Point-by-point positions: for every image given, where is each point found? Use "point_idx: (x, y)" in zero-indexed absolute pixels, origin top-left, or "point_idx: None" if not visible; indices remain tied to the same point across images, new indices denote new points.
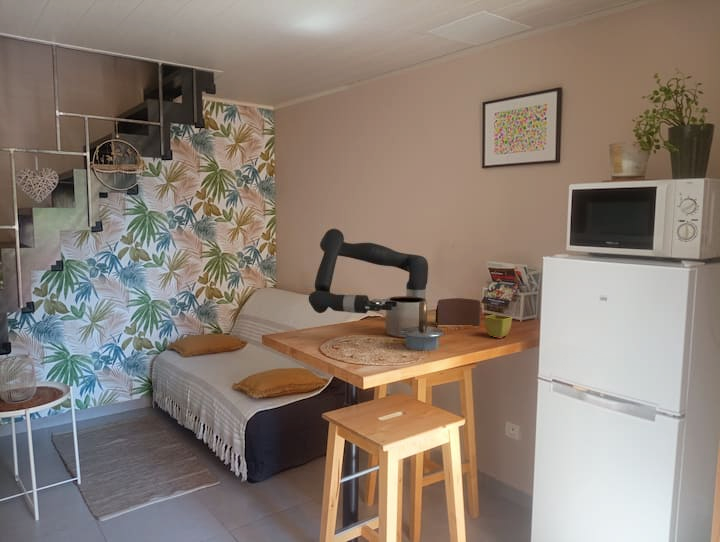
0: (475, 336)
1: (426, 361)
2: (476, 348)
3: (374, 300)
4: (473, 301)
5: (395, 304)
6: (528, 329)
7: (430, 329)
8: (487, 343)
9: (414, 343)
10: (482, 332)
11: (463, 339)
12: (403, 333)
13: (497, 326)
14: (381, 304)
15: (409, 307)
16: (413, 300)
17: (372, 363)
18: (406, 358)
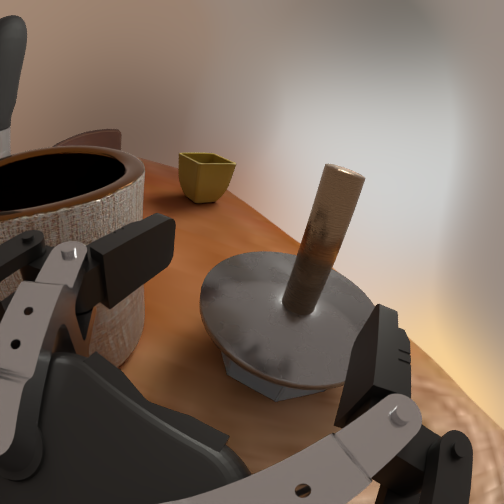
0: (180, 214)
1: (440, 373)
2: (295, 252)
3: (23, 431)
4: (112, 133)
5: (168, 245)
6: (163, 166)
7: (266, 272)
8: (249, 224)
9: None
10: (151, 197)
11: (201, 236)
12: (341, 382)
13: (223, 179)
14: (412, 402)
15: (133, 211)
16: (27, 168)
17: (492, 498)
18: (434, 419)
